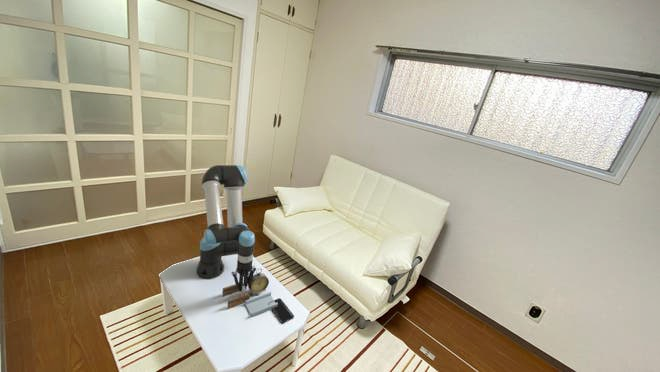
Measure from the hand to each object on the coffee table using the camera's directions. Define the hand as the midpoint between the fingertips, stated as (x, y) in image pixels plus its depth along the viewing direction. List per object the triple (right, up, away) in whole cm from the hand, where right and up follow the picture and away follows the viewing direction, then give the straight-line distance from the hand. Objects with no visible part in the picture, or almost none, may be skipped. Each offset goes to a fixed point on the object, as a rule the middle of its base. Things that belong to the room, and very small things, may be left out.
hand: (242, 294), depth 146 cm
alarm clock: (+7, -1, +6) cm, 9 cm away
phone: (+22, -8, -3) cm, 24 cm away
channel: (-3, -2, -1) cm, 4 cm away
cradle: (+11, -5, -3) cm, 13 cm away
